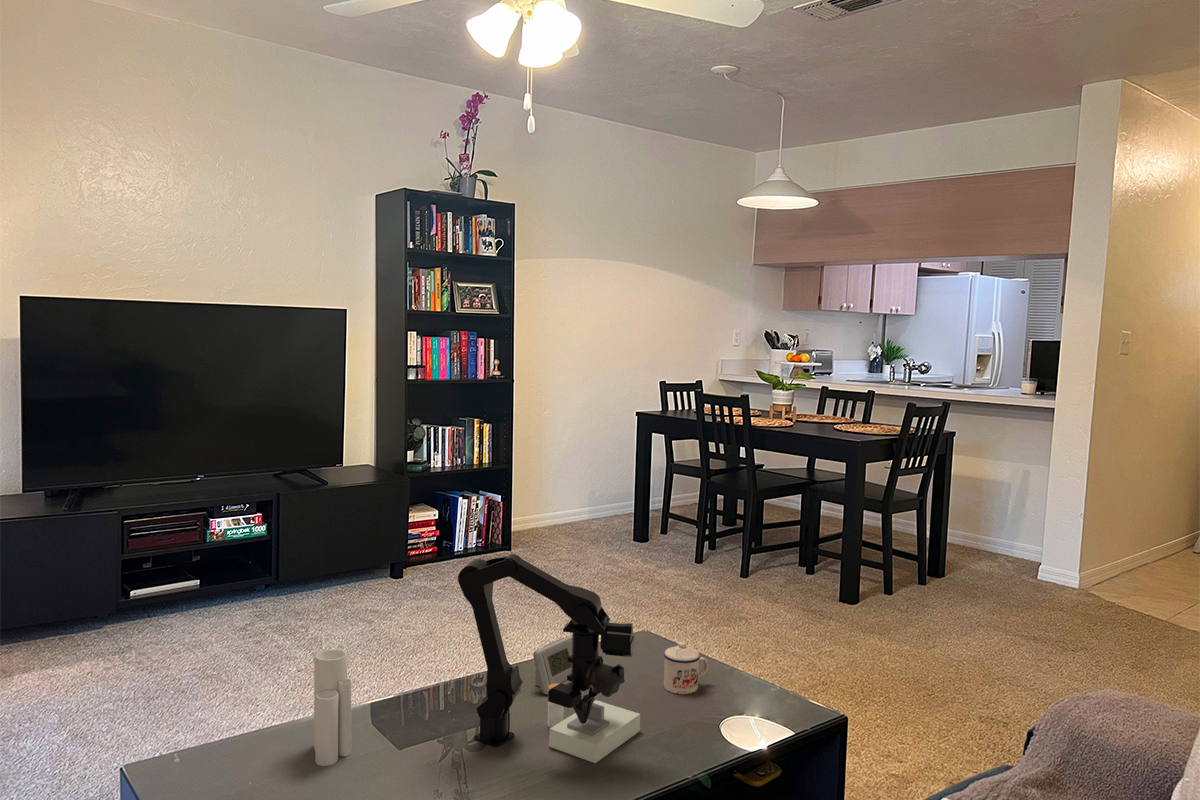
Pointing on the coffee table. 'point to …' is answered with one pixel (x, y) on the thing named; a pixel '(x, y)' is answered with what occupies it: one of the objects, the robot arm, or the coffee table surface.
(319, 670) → the vase
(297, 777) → the coffee table surface
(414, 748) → the coffee table surface
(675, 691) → the teacup with lid
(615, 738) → the socket block
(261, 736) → the coffee table surface
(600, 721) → the shutter
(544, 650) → the digital clock
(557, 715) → the plug
